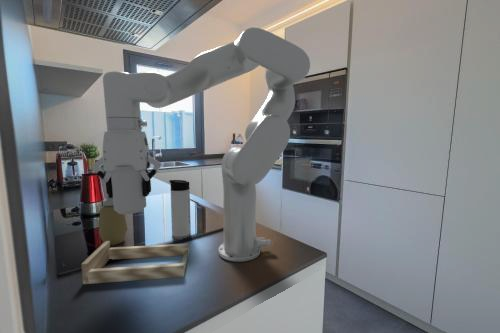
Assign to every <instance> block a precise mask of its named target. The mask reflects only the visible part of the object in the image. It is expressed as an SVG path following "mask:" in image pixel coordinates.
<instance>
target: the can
mask: <svg viewBox="0 0 500 333" xmlns="http://www.w3.org/2000/svg"><path fill="white" fill-rule="evenodd" d="M133 167H134V166H125V167H118V166H115V170H113V171H112V172H111V181H112V193H113V204H114V210H115V211H116V212H118V213H119V214H125V215H130V214H131V215H133V214H136V213H139V212H142V211H143V210H145V208H146V207H147V196H146V197H144V196H143V186H142V182H143V181H144V178H143V177H142V175H141V171H137V170H135V169H133Z"/></svg>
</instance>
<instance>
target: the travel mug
mask: <svg viewBox="0 0 500 333" xmlns="http://www.w3.org/2000/svg"><path fill="white" fill-rule="evenodd" d="M168 181H169V183H170V211H171V237H172V238H173V239H174V238H175V239H174V240H184V239H183V238H186V239H188V238H190V237H191V235H192V230H191V197H190V196H191V192H190V181H187V180H183V179H170V180H168ZM189 236H190V237H189ZM187 237H188V238H187Z"/></svg>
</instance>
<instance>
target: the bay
mask: <svg viewBox="0 0 500 333" xmlns="http://www.w3.org/2000/svg"><path fill="white" fill-rule="evenodd" d="M189 246H190V244H189V243H173V244H172V243H171V244H170V243H169V244H157V245H156V244H153V245H152V244H151V245H135V246H133V245H131V246H117V247H116V246H115V247H111V245H110V241H105V242H104V243H103V242H102V243H101V244H100V246H98V247H97V248H96V249H95V250H94V251H93V252H92V253H91V254H90V255H89V256H88V257H87V258H86V259H85V260H84V261H83V262H82V263H81V264H80V266H81V275H82V276H81V278H82V284H83V285H90V284H91V285H92V284H103V283H104V284H105V283H117V282H118V283H119V282H130V281H132V282H133V281H144V280H156V279H157V280H159V279H171V278H184V277H185V274H186V268H187V265H188V264H187V263H188V260H189V254H190V247H189ZM175 256H176V257H177V256H178V257H179V256H183V257H182V260H181V263H179V262H177V263H163V264H150V265H148V264H146V265H132V266H129V265H128V266H117V267H105V265H106V264H108V261H110V260H109V259H112V260H127V259H139V258H140V259H141V258H142V259H143V258H144V259H145V258H159V257H175Z"/></svg>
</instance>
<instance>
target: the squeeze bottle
mask: <svg viewBox="0 0 500 333" xmlns="http://www.w3.org/2000/svg"><path fill="white" fill-rule="evenodd" d="M106 195H107V196H106V198H104V199H103V200H102V206H101V207H100V209H99V222H98V223H99V224H98V225H99V228H98V234H99V237H100V239H101V241H102V244H103V243H104V242H105V241H110V246H115V245H119V244H122V243H123V242H124V241H125V238H126V236H127V232H128V225H127V219H126V214H119V213H118V212H116V211H115V210H114V204H113V197H112V198H109V196H108V194H107V193H106Z"/></svg>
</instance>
